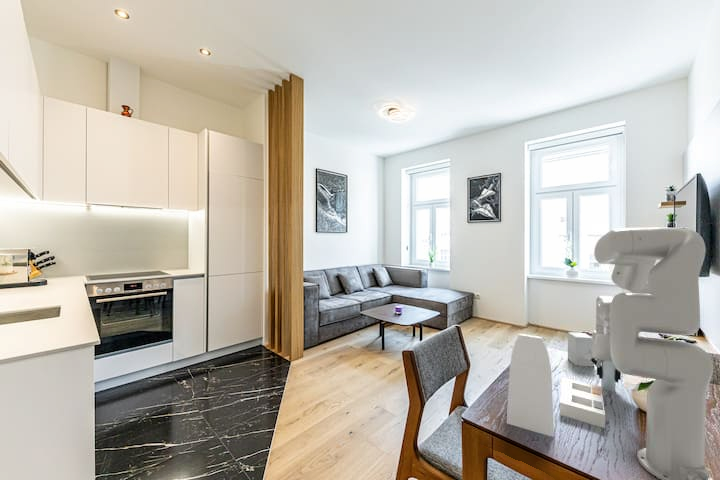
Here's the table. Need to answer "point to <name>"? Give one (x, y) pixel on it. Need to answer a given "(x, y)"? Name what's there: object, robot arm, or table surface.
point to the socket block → (582, 402)
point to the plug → (608, 376)
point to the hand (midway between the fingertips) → (608, 378)
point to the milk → (530, 386)
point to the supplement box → (579, 348)
